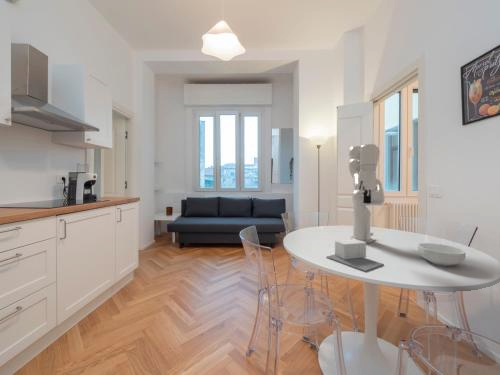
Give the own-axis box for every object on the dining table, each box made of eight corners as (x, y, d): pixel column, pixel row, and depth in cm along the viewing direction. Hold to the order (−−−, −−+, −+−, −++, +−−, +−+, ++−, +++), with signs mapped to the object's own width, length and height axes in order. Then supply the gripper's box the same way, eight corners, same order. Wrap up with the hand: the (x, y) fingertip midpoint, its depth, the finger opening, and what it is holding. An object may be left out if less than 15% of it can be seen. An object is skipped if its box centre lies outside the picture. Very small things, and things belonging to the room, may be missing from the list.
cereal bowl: (475, 271, 96) (476, 255, 96) (430, 268, 100) (430, 252, 99) (449, 257, 113) (449, 243, 113) (411, 255, 116) (411, 241, 116)
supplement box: (355, 238, 119) (334, 240, 115) (366, 242, 112) (344, 244, 108) (355, 252, 119) (334, 254, 115) (366, 257, 112) (344, 260, 108)
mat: (344, 252, 120) (344, 251, 120) (383, 265, 103) (383, 263, 103) (326, 257, 113) (326, 256, 113) (365, 271, 96) (365, 270, 96)
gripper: (369, 168, 128) (368, 201, 129) (352, 168, 120) (352, 203, 121) (383, 168, 122) (382, 202, 123) (366, 168, 114) (365, 205, 115)
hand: (367, 203), depth 122 cm, fingers closed
